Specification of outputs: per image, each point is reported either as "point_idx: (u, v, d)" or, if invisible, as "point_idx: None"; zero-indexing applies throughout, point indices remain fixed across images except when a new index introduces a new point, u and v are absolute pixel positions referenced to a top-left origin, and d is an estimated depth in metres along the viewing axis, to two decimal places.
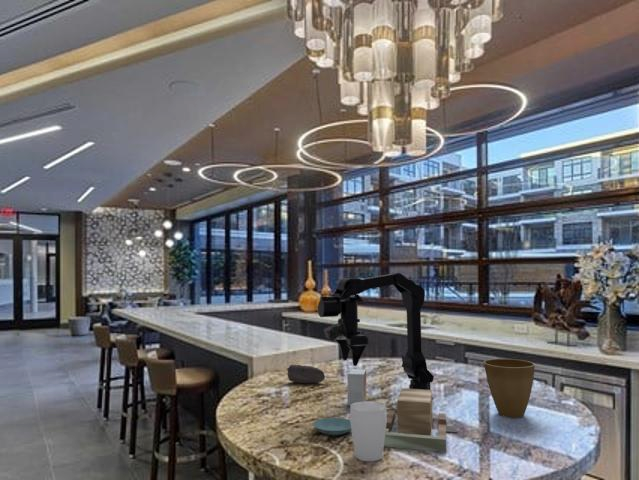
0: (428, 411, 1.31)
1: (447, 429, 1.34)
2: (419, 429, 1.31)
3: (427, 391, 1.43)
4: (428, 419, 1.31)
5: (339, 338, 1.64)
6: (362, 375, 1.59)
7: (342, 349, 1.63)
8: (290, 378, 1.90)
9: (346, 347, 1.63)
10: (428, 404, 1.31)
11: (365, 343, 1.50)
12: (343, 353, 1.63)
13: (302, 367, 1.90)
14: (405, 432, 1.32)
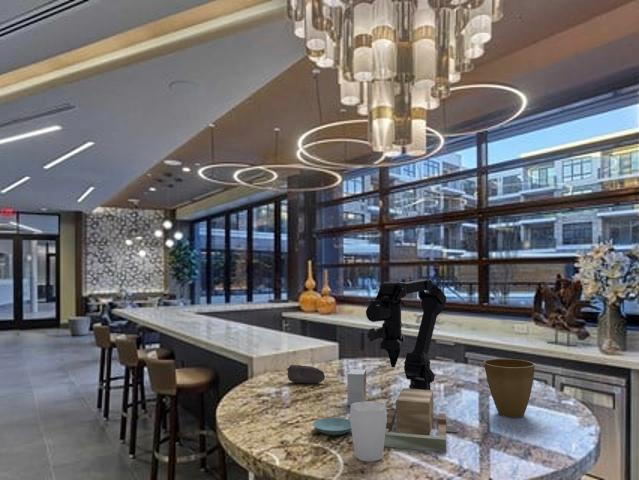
0: (427, 411, 1.31)
1: (447, 429, 1.34)
2: (418, 429, 1.31)
3: (428, 391, 1.42)
4: (427, 419, 1.30)
5: None
6: (362, 375, 1.59)
7: None
8: (290, 378, 1.90)
9: None
10: (427, 404, 1.31)
11: (395, 348, 1.49)
12: None
13: (302, 367, 1.90)
14: (404, 432, 1.32)
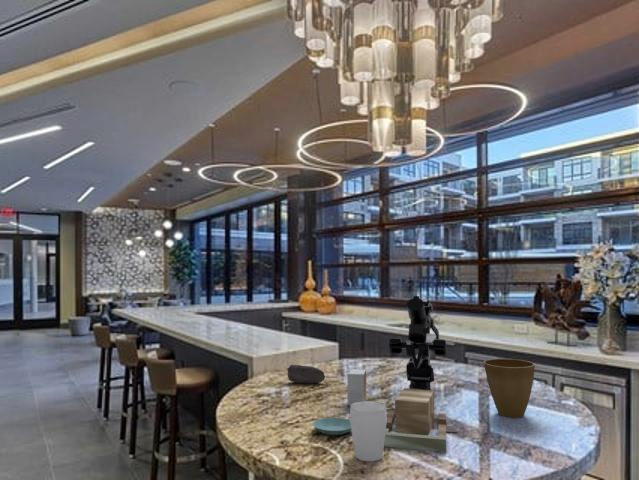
0: (426, 411, 1.31)
1: (447, 429, 1.34)
2: (417, 429, 1.31)
3: (428, 391, 1.42)
4: (426, 419, 1.30)
5: None
6: (362, 375, 1.59)
7: (415, 356, 1.57)
8: (290, 378, 1.90)
9: None
10: (426, 404, 1.31)
11: None
12: (416, 360, 1.56)
13: (302, 367, 1.90)
14: (403, 431, 1.32)
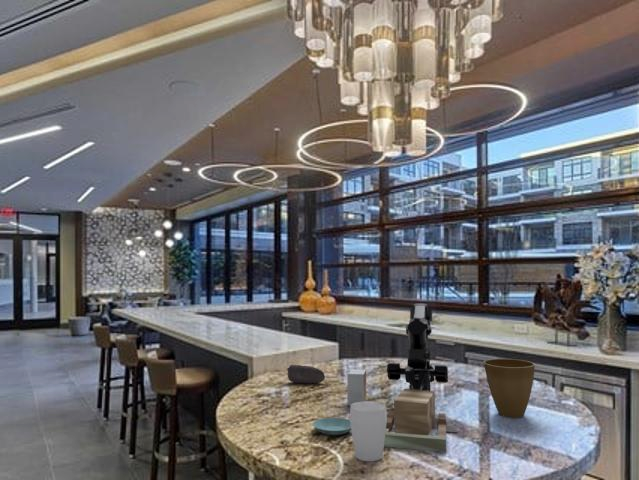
0: (425, 412, 1.30)
1: (447, 429, 1.34)
2: (416, 430, 1.30)
3: (429, 392, 1.41)
4: (425, 420, 1.29)
5: None
6: (362, 375, 1.59)
7: (415, 384, 1.47)
8: (290, 378, 1.90)
9: None
10: (425, 405, 1.30)
11: (447, 379, 1.49)
12: (416, 388, 1.46)
13: (302, 367, 1.90)
14: (402, 432, 1.31)
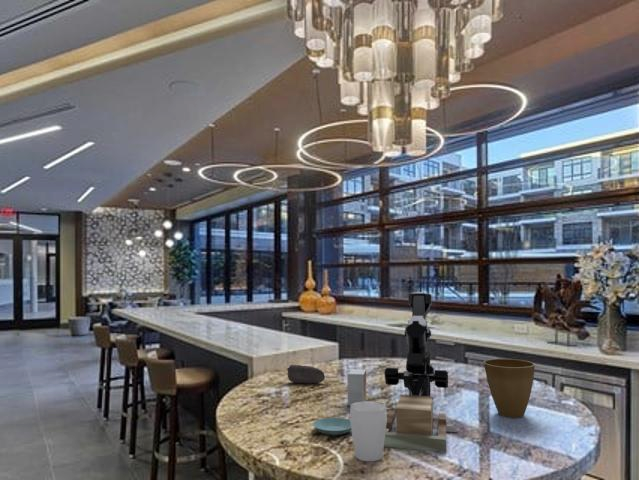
0: (429, 419, 1.24)
1: (447, 429, 1.34)
2: None
3: (427, 398, 1.35)
4: (429, 428, 1.23)
5: None
6: (362, 375, 1.59)
7: None
8: (290, 378, 1.90)
9: None
10: (429, 412, 1.24)
11: None
12: (415, 394, 1.40)
13: (302, 367, 1.90)
14: None
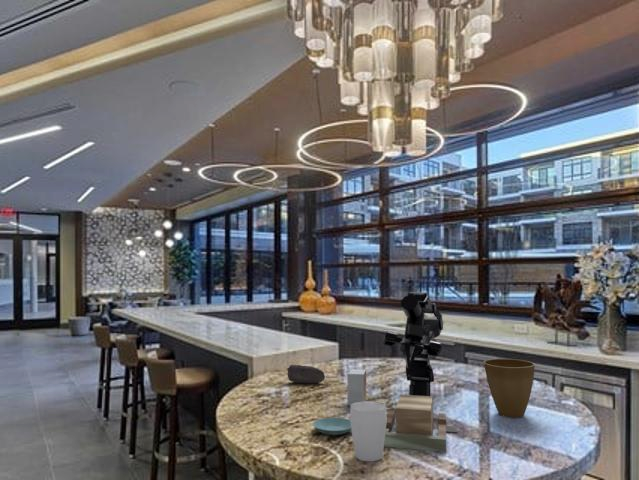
0: (428, 419, 1.23)
1: (447, 429, 1.34)
2: None
3: (427, 398, 1.35)
4: (428, 428, 1.23)
5: (408, 344, 1.57)
6: (362, 375, 1.59)
7: (409, 356, 1.56)
8: (290, 378, 1.90)
9: None
10: (428, 412, 1.24)
11: (438, 354, 1.59)
12: None
13: (302, 367, 1.90)
14: None
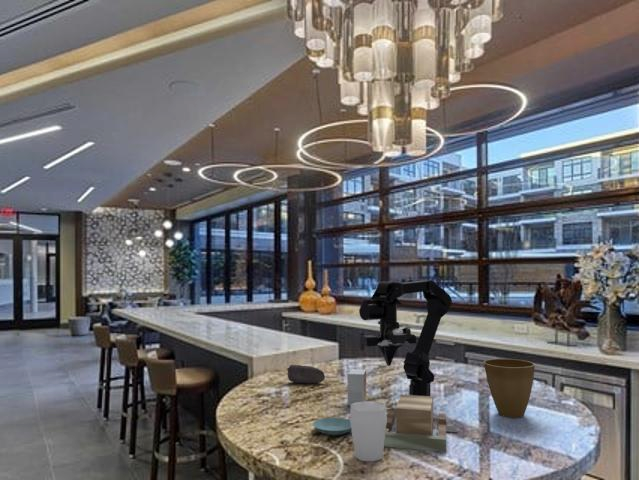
0: (428, 419, 1.23)
1: (447, 429, 1.34)
2: None
3: (427, 398, 1.35)
4: (428, 428, 1.23)
5: None
6: (362, 375, 1.59)
7: None
8: (290, 378, 1.90)
9: None
10: (428, 412, 1.24)
11: None
12: None
13: (302, 367, 1.90)
14: None
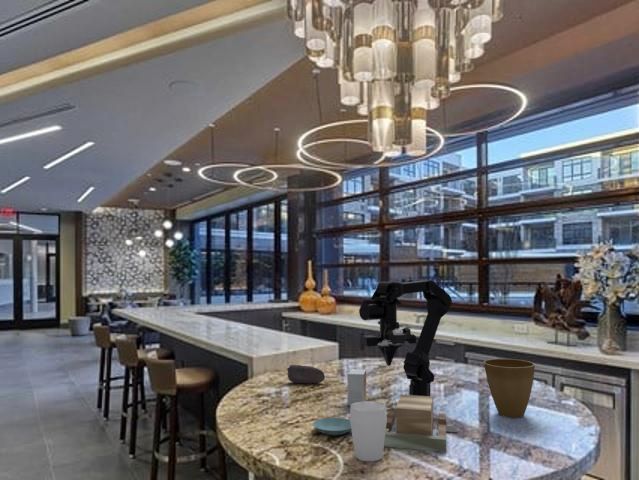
0: (428, 419, 1.23)
1: (447, 429, 1.34)
2: None
3: (427, 398, 1.35)
4: (428, 428, 1.23)
5: None
6: (362, 375, 1.59)
7: None
8: (290, 378, 1.90)
9: None
10: (428, 412, 1.24)
11: None
12: None
13: (302, 367, 1.90)
14: None
